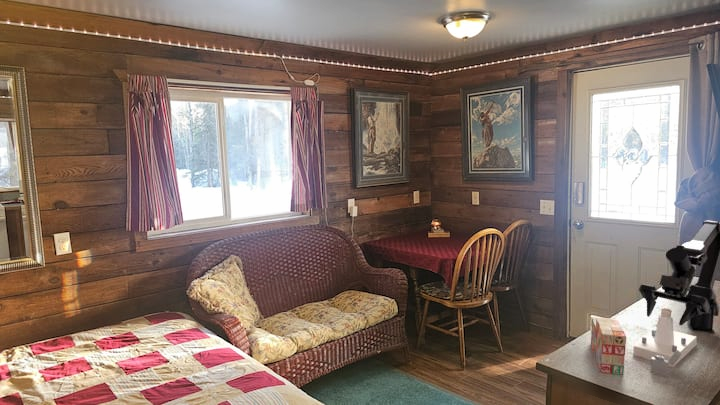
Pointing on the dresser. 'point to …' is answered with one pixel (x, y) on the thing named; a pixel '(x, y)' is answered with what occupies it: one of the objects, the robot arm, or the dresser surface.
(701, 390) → the dresser surface
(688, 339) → the cream board with pegs
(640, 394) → the dresser surface
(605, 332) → the stack of blocks
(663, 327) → the pepper shaker
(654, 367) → the lighter
